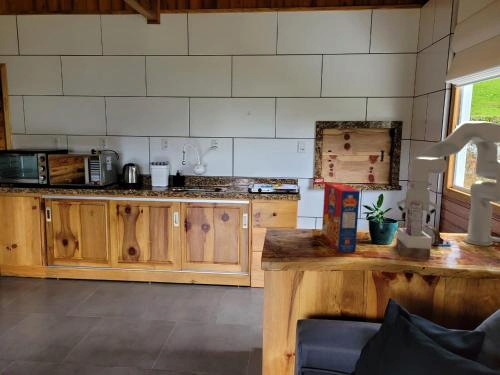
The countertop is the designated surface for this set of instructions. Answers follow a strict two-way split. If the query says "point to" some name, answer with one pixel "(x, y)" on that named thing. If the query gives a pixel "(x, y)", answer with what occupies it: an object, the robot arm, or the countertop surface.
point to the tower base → (412, 251)
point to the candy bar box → (414, 219)
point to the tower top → (414, 239)
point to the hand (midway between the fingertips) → (415, 222)
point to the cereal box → (340, 216)
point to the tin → (432, 234)
